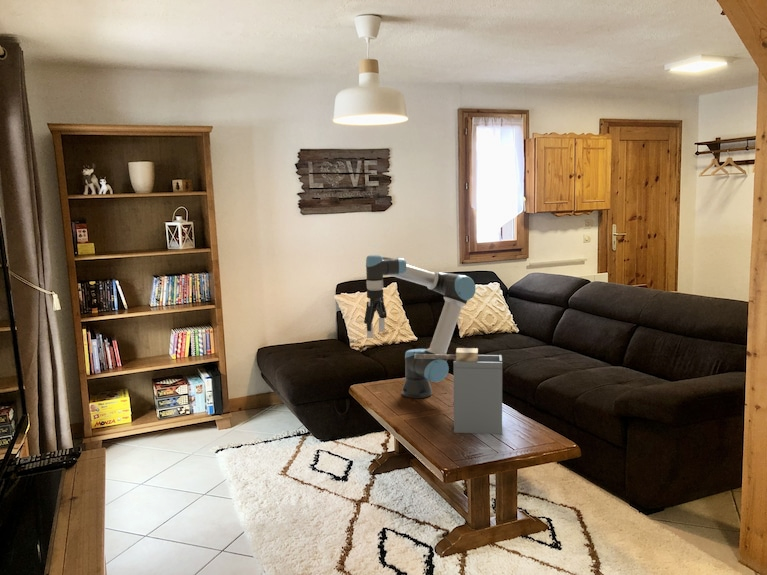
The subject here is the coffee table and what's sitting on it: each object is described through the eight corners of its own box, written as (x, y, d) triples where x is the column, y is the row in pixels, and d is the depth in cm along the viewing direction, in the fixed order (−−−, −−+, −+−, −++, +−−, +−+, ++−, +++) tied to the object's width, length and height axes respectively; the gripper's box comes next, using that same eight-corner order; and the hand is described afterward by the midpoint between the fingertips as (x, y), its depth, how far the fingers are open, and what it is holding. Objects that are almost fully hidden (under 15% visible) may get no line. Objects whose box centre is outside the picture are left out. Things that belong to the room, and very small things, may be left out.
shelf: (453, 432, 261) (453, 361, 257) (455, 420, 275) (454, 353, 270) (502, 434, 258) (502, 362, 253) (500, 422, 271) (501, 353, 267)
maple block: (413, 365, 263) (413, 351, 262) (415, 360, 270) (415, 347, 270) (477, 366, 258) (477, 352, 258) (477, 361, 266) (477, 348, 265)
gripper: (378, 285, 294) (379, 329, 297) (355, 292, 271) (357, 339, 274) (392, 285, 291) (393, 329, 294) (371, 293, 269) (372, 341, 271)
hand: (376, 334), depth 284 cm, fingers open, 13 cm apart
